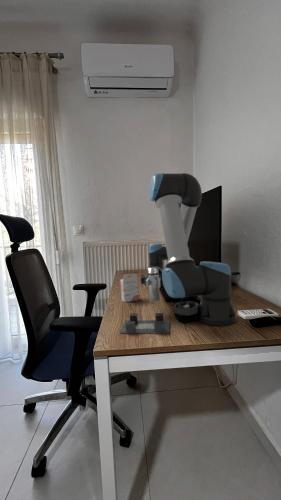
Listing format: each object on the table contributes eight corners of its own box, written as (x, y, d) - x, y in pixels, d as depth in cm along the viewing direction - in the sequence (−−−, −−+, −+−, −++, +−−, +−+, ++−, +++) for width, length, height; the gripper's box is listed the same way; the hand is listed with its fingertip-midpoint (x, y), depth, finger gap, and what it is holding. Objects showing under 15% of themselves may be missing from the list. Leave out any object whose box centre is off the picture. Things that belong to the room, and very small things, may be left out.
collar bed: (169, 321, 98) (168, 312, 98) (169, 333, 86) (169, 324, 86) (125, 321, 100) (125, 313, 100) (119, 333, 88) (119, 324, 88)
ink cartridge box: (135, 298, 136) (134, 272, 135) (139, 300, 132) (137, 273, 131) (121, 300, 133) (119, 273, 132) (124, 302, 129) (122, 275, 127)
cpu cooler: (202, 306, 95) (177, 310, 94) (204, 320, 96) (179, 324, 95) (193, 299, 106) (170, 303, 104) (194, 311, 106) (172, 316, 105)
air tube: (160, 298, 107) (158, 267, 107) (159, 301, 103) (158, 268, 102) (149, 298, 108) (148, 267, 107) (149, 301, 103) (147, 268, 103)
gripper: (173, 281, 122) (174, 292, 99) (139, 282, 124) (132, 293, 101) (172, 267, 122) (173, 274, 99) (138, 268, 124) (131, 275, 101)
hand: (153, 283), depth 100 cm, fingers closed on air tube, 4 cm apart
